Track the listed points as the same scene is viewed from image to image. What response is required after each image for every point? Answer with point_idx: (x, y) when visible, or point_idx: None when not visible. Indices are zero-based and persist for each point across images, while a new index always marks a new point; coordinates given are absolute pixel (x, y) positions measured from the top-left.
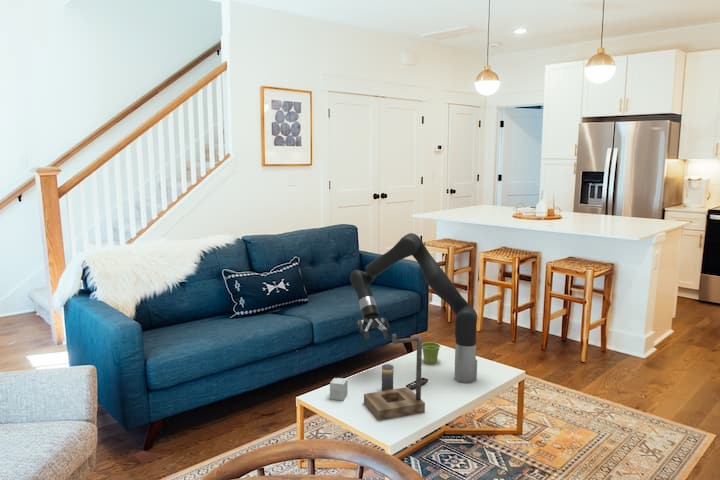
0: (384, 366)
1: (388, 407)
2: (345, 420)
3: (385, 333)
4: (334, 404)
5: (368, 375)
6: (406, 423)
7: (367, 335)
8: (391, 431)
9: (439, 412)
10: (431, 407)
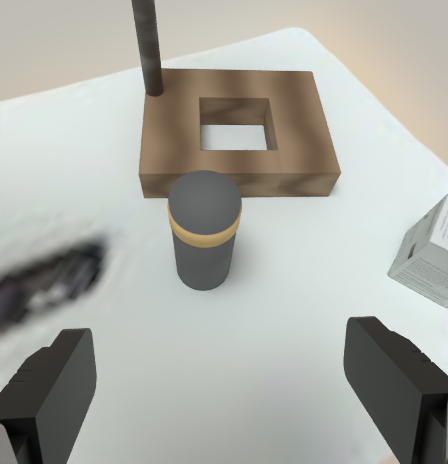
0: (224, 203)
1: (275, 78)
2: (399, 123)
3: (56, 365)
4: None
5: None
6: None
7: (405, 348)
8: (283, 55)
9: (109, 85)
10: (113, 112)
